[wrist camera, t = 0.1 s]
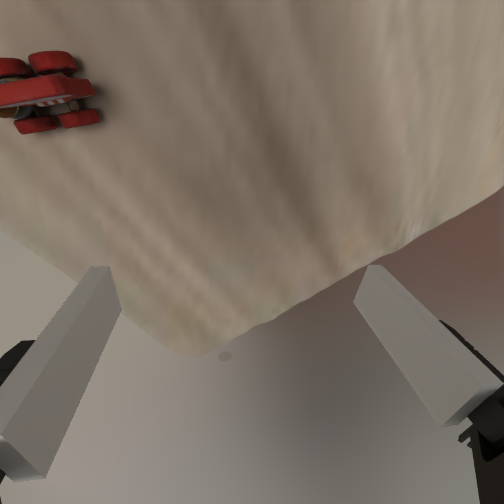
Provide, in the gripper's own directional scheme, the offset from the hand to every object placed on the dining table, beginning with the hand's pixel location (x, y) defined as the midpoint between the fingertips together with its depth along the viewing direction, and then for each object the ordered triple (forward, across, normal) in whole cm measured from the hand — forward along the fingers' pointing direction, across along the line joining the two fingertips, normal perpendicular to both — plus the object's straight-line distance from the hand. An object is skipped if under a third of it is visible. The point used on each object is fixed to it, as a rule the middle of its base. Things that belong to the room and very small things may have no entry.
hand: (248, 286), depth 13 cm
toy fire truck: (+28, -21, +7) cm, 36 cm away
